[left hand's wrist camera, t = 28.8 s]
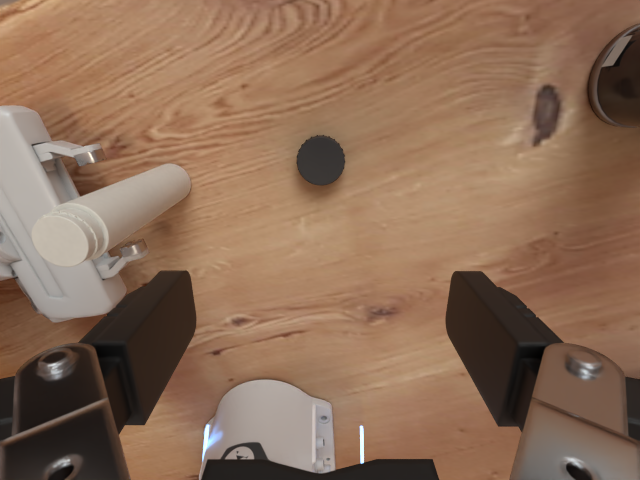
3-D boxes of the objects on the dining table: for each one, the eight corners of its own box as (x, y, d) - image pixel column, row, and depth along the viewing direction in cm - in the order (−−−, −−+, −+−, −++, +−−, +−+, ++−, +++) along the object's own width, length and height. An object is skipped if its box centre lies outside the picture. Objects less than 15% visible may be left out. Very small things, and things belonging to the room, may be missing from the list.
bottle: (173, 155, 38) (55, 197, 21) (199, 187, 39) (107, 250, 22) (145, 177, 39) (11, 234, 22) (171, 207, 40) (63, 283, 23)
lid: (337, 186, 39) (338, 190, 37) (293, 176, 39) (292, 180, 37) (349, 141, 37) (350, 142, 35) (302, 129, 37) (301, 131, 35)
